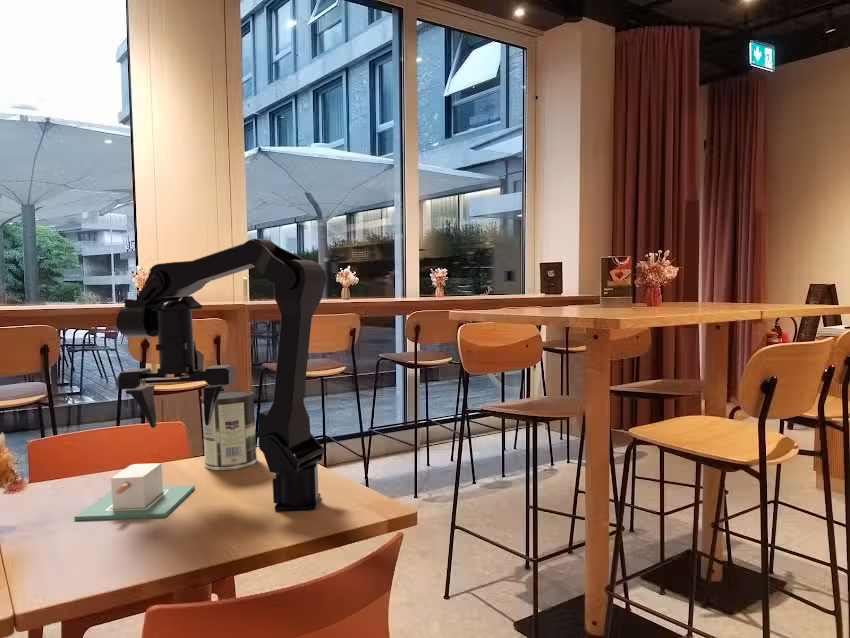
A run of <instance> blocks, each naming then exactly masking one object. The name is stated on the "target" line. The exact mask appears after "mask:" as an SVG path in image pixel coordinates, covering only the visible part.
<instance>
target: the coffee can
mask: <svg viewBox="0 0 850 638" xmlns="http://www.w3.org/2000/svg"><path fill="white" fill-rule="evenodd" d="M254 397H255V392H254V391H252V390H247V389H246V390H245V389H242V390H241V389H240V390H239V389H238V390H237V389H236V390H233V389H232V390H223V391H222V390H221V391H220V393H219V395H218V398H217V400H216V403H215V406H214V410H213V413H212V417H211V420H210V424H209V425H206V424H205V419H204V394H203V395H201V396H200V401H201V415H202V416H201V417H202V430H203V431H202V432H203V450H204V467H205V468H206V469H208V470H211V471H231V470H232V471H233V470H234V471H235V470H240V469H243V468H246V467H250V466H253V465H255V464H256V463H257V462H258V457H257V456H258V455H257V441H256V439H257V438H255V436H256V422H255V421H256V420H255V401H254V400H255V398H254Z"/></svg>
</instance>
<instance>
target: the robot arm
mask: <svg viewBox="0 0 850 638" xmlns="http://www.w3.org/2000/svg"><path fill="white" fill-rule="evenodd" d="M253 268H256V269H257V271H258V272H259V273H260V274H261V276H262V277H264V278H265V279H267V280H268V281H270V282H272V283H273V296H274V300H275V303H276V305H277V308H278V310H279V314H280V323H279V334H278V337H279V338H278V346H277V347H278V348H277V357H276V366H275V367H276V369H275V377H274V379H275V380H274V390H273V400H272V404H271V406H270V408H269V409H267V410H265V411H261V412H259V413H258V416H257V428H258V429H257V432H256V433H255V438H256V439H258V449H259V451H260V452H262V453H263V456H264V458H265V462H266V464H267V468H268V469H269V472H270V473H271V474H272V473H273V474H275V475H274V477H273V478H272V498H273V503H274V504H275V505H274V510H275V511H296V510H297V511H298V510H299V511H301V510H314V509H317V506H318V504H319V501H320V499H321V497H322V496H321V493H319V476H318V462H320V461H322V460H323V458H324V453H325V448H324V446H323V445H321V442H319V441H318V440H317V439H316V438H315V436H314V435H313V434H312V433H311V423H310V419H311V418H310V417H309V414H308V411H307V409H306V407H305V390H306V381H307V380H306V379H307V370H308V359H309V350H310V340H311V339H310V338H311V327H312V319H313V316H314V314H315V312H316V310H317V308H318V306H319V305H320V303H321V301H322V298H323V295H324V290H325V287H326V284H327V283H326V282H327V275H326V271H325V270H324V268H323V266H322V265H320V264H319V263H318V262H316V261H314V260H312V259H311V260H310V259H309V260H308V259H307V260H306V259H304V258H302V257H301V256H299V255H297V254H295V253H293V252H291V251H288V250H287V249H285V248H282V247H280V246H279V245H277V244H276V243H274V242H273V241H272V240H270V239H269V240H268V239H263V238H250V239H248V240H247V241H246V242H244V243H241V244H237V245H235V246H234V245H233V246H232V247H231V246H230V247H229V248H226V249H224V250H220V251H217V252H214V253H211V254H209V255H205V256H203V257H200V258H196V259H192V260H188V261H187V260H185V261H174V262H173V261H171V262H164V263H156V264H154V265H152V266H151V267H150V268H149V273H148V276H147V279H146V280H145V283H144V285H143V286H142V287H141V290H140V291H139V294H138V295H137V297H136V298H125V299H124V306H122V307H121V308H120V310H119V311H118V313H117V317H116V318H115V324H116V328H117V330H118V331H119V333H120V335H122V336H124V337H125V338H126V337H127V338H144V337H145V338H147V337H149V338H154V337H157V344H155V350H156V351H158V364H159V367H158V368H157V369H156V372H153V371H152V370H151V368H150V367H149V368H130V369H127V370H124V371H121V372H119V373H118V375H117V378H116V388H117V390H125V391H124V392H125V394H126V395H130V396H132V398H133V399H134V401H135V402H136V403H137V405H138V407H139V408H140V409H141V411H142V413H143V414H144V417H145V418H146V420H147V422H148V423H149V425H150V427H151V429H154V428H156V426H157V415H156V407H155V399H154V395H155V394H154V392H155V385H154V384H160V383H161V384H162V383H165V384H166V383H185V382H186V383H187V382H189V383H190V382H205V383H206V384H207V386H205V387H203V395H204V419H205V424H206V425H209V424H210V420H211V417H212V413H213V410H214V406H215V403H216V400H217V398H218V395H219V393H220V391H222V390H223V389H225V388H227V387H228V386H229V385H230V384H232V383H233V382H235V381H236V380H237V370H236V367H234V366H233V364H222V365H219V364H218V365H211V366H209V367H207V368H205V369H204V362H205V361H204V360H205V355H204V354H203V353H202V352H201V351H199V350H197V345H196V344H197V343H196V340H194V332H193V331H194V330H193V329H194V328H193V312H192V311H195V310H202V309H203V305H202V304H201V303H199V301H197V300H196V299H195V298H194V297H193V294H195V293H196V292H198V291H200V290H202V289H203V288H204V287H205V286H206V285H207V284H208V283H210V282H213V281H215V280H218V279H221V278H224V277H227V276H231V275H234V274H237V273H240V272H243V271H246V270H251V269H253ZM168 375H173V376H168Z"/></svg>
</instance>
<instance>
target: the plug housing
mask: <svg viewBox="0 0 850 638" xmlns="http://www.w3.org/2000/svg"><path fill="white" fill-rule="evenodd" d="M162 467H163V466H162V462H159V463H158V462H157V463H156V462H155V463H133V464H130V465H129V466H127V467H126V468H124V469H123V470H121V471H119V472H118V473H117V474H115V475H114V476H112V477H111V478H110V479H111V482H110V483H111V491H112V501H113V509H124V508H145V507H146V506H147V505H148V504H149V503H150V502H152V501H153V500H154V499H155V498H156V497H157V496H159V495H160V494H161V493H162V492H163V487H164V486H163V485H164V484H163V470H162V469H163V468H162Z"/></svg>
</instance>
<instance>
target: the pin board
mask: <svg viewBox="0 0 850 638" xmlns="http://www.w3.org/2000/svg"><path fill="white" fill-rule="evenodd" d="M195 489H196V486H195V485H171V486H169V485H167V486H166V485H165V486H163V492H162V493H161V494H160V495H159V496H157V497H156V498H155V499H154V500H153V501H152V502H150V503H149V504H148V505H147V506H146V507H145V508H124V509H113V501H112V490H110V491H109V492H107V493H106V494H105V495H103V496H101V497H100V498H99V499H97V500H95V502H93V503H92V504H90V505H89V506H87V507H86V508H85V509H83V510H81V511H80V512H79V513H77V514H75V516H74V517H73V518H74V521H93V520H95V521H97V520H99V521H100V520H121V519H122V520H124V519H127V520H128V519H148V518H154V519H156V518H167V516H168V515H169V514H170V513H171V512H172V511H174V510H175V508H177V506H179V505H180V504H181V503H182V502H183V501H184V500H185V499H186V498H187V497H188V496H189V495H190V494H191V493H193V491H194V490H195Z"/></svg>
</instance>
